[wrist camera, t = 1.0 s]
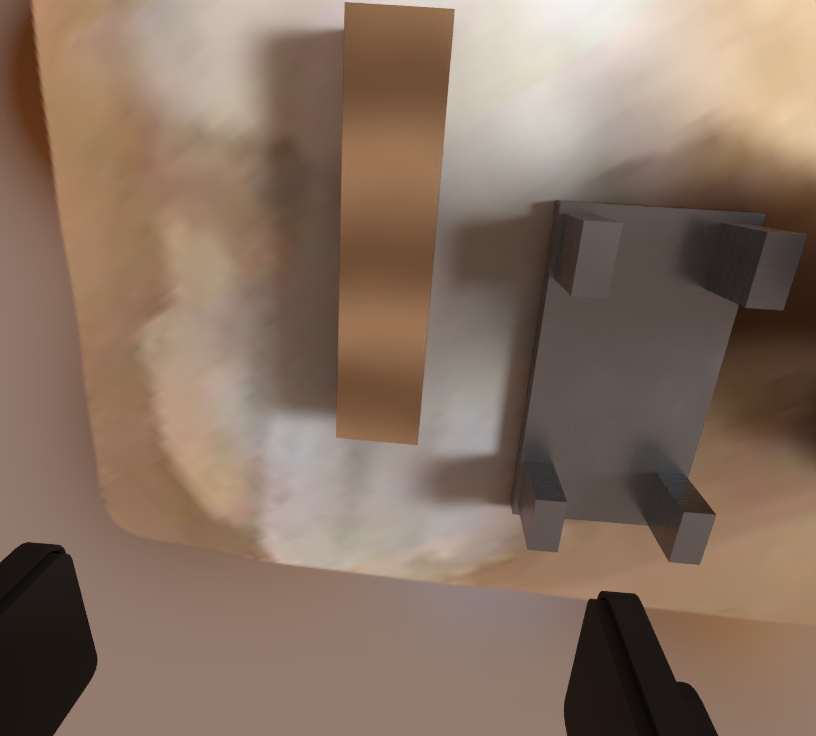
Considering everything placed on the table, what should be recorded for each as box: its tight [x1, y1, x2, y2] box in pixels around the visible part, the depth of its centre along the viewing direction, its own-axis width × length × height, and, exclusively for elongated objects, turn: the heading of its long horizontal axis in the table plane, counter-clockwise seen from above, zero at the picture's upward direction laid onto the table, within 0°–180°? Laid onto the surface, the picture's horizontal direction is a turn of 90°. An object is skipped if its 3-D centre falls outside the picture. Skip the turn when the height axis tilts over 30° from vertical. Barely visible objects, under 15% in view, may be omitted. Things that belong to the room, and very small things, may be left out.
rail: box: [336, 2, 455, 445], centre depth 24 cm, size 18×4×4 cm, turn 176°
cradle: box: [511, 200, 808, 565], centre depth 25 cm, size 17×9×4 cm, turn 177°
